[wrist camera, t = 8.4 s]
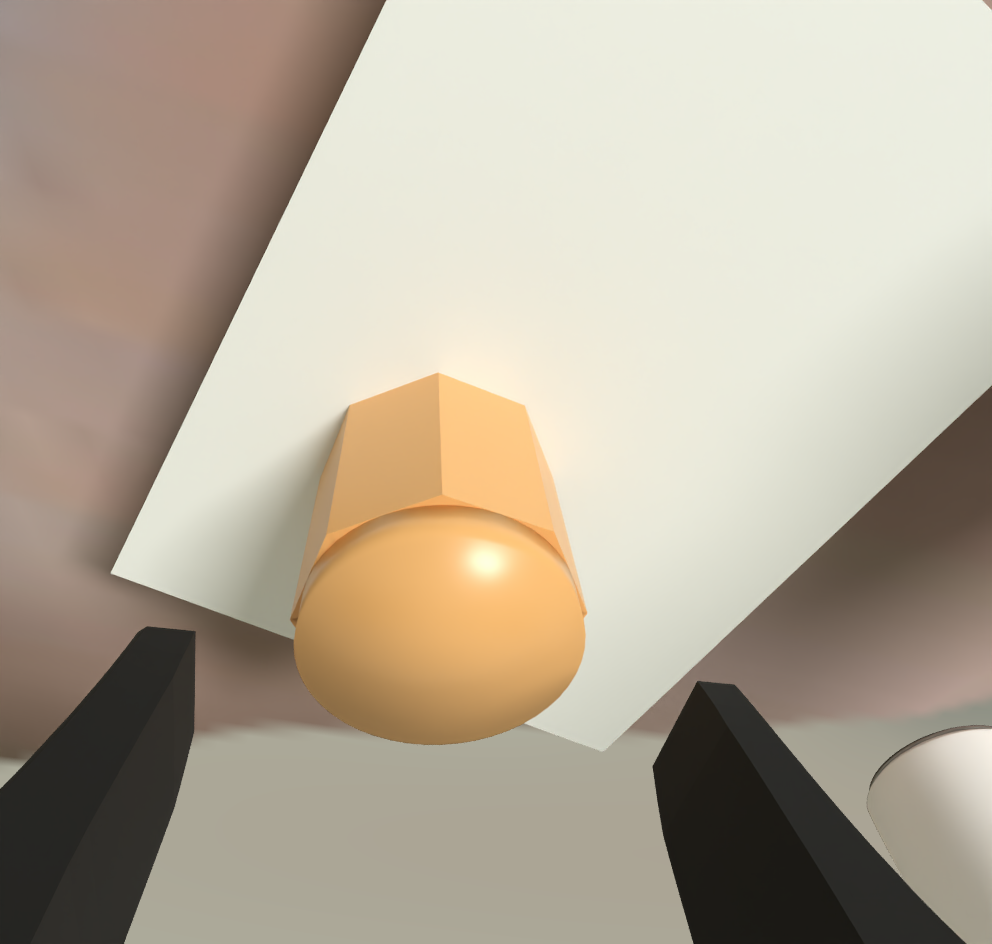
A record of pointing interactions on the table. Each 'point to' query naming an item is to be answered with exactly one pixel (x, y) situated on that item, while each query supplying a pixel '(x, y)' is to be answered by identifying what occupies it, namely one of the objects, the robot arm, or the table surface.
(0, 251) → the table surface
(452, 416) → the cap
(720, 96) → the junction box
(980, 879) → the can
